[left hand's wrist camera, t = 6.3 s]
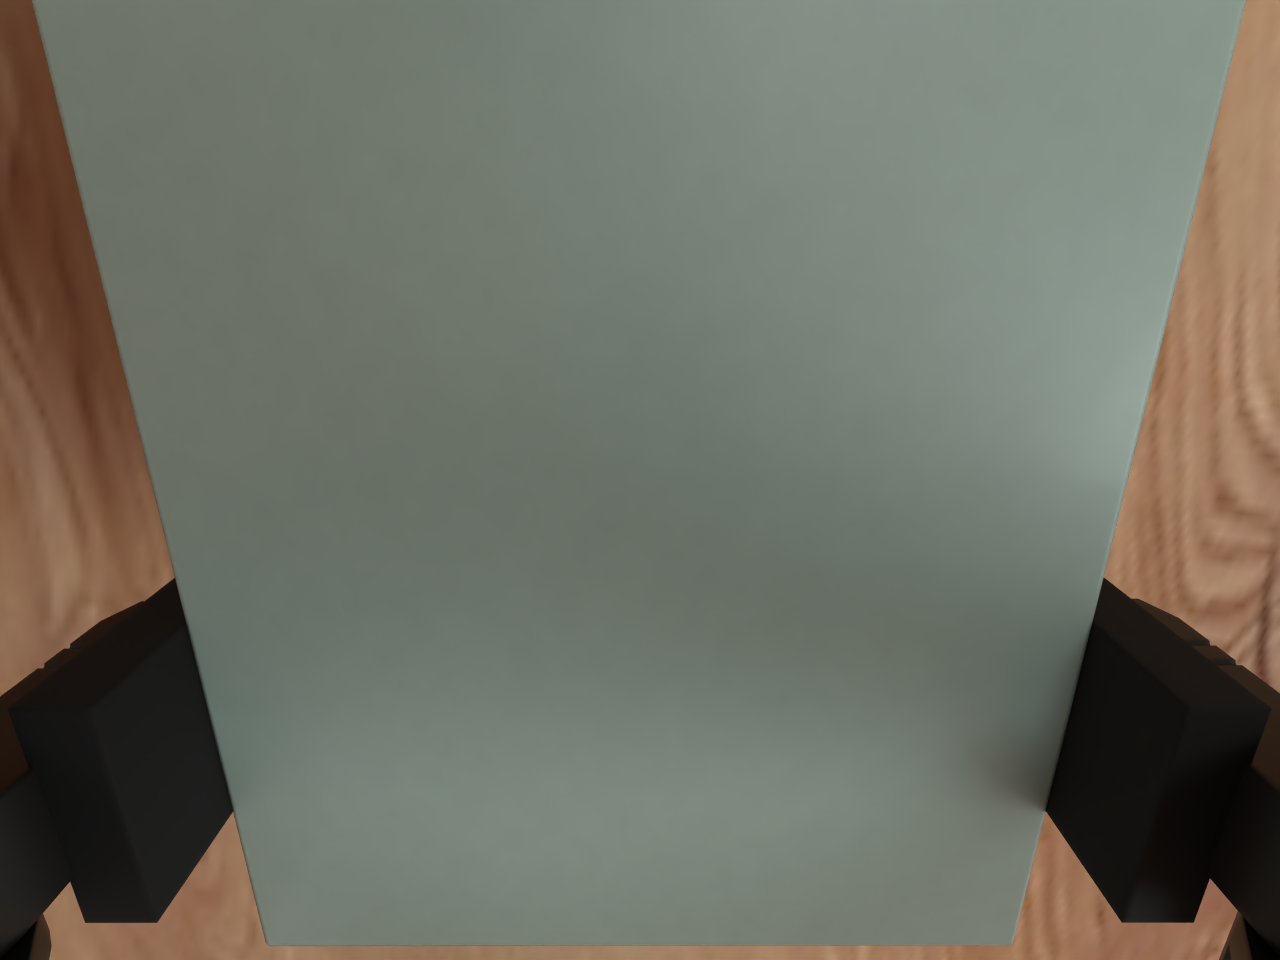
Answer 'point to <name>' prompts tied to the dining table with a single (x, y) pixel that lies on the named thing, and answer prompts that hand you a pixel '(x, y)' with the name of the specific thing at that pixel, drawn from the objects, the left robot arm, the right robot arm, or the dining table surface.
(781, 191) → the cabinet
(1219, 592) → the dining table surface
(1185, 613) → the dining table surface
